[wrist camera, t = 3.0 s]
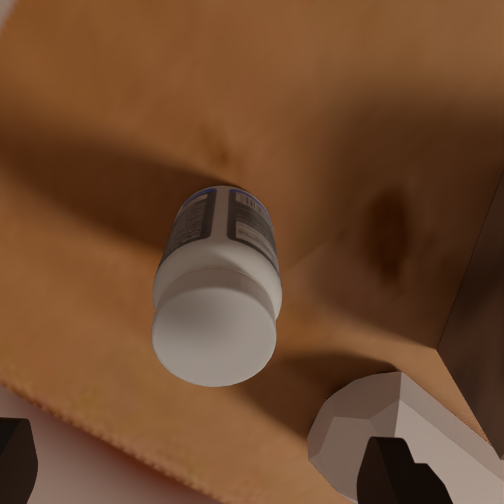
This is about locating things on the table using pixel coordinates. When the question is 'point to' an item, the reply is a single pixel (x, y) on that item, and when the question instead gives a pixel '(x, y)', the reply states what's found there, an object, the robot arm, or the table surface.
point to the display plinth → (481, 328)
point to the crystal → (407, 427)
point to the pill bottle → (217, 289)
